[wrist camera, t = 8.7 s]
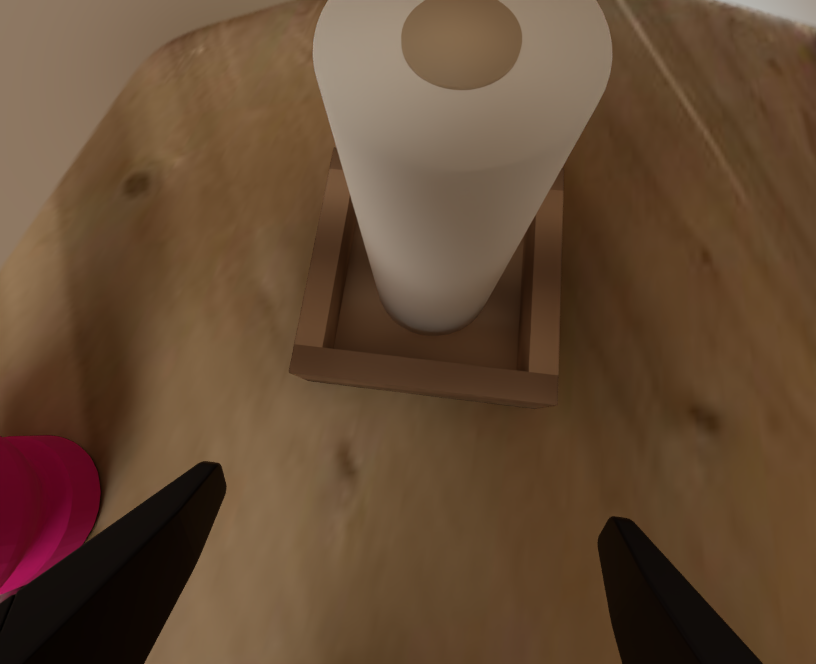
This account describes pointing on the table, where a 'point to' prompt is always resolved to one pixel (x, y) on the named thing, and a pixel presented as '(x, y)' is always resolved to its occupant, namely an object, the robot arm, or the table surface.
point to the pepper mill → (43, 504)
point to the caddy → (432, 355)
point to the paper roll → (454, 134)
